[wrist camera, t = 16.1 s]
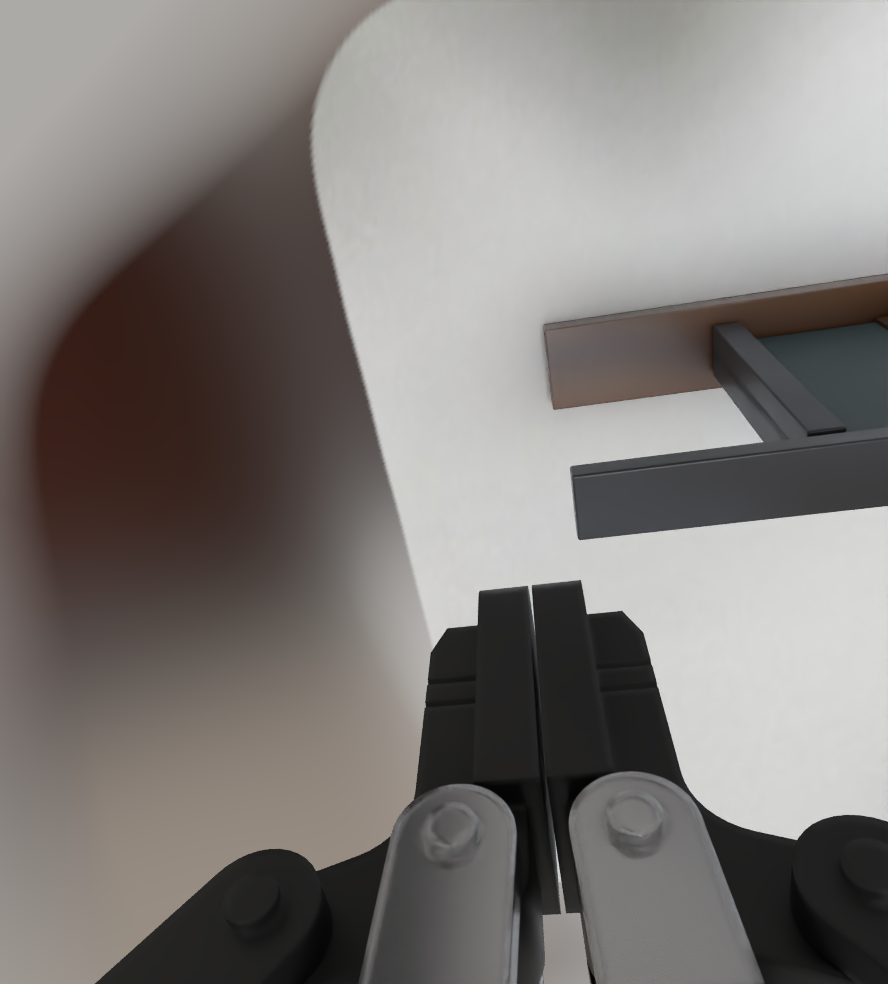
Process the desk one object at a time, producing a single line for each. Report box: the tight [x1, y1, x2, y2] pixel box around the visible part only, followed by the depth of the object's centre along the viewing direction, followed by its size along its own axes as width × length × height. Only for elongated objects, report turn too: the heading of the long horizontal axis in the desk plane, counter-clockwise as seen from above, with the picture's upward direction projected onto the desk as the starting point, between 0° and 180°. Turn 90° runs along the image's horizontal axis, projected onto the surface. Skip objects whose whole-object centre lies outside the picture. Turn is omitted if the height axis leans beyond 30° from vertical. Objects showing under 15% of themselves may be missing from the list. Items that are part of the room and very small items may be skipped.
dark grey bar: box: [713, 316, 888, 442], centre depth 30 cm, size 2×8×12 cm, turn 99°
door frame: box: [544, 274, 888, 540], centre depth 30 cm, size 4×17×15 cm, turn 100°
